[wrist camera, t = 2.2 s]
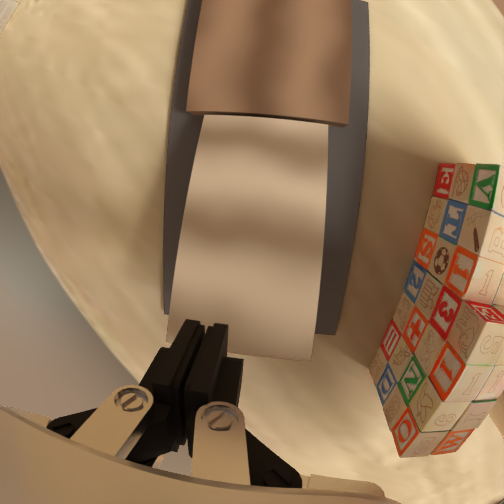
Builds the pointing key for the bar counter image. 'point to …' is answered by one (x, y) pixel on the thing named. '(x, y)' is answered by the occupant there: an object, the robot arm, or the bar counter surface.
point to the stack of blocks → (448, 318)
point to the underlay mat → (338, 171)
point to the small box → (6, 11)
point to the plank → (254, 234)
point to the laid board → (273, 60)
